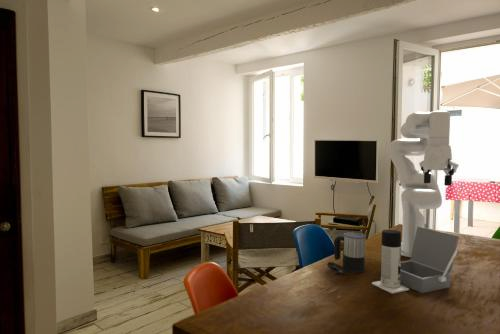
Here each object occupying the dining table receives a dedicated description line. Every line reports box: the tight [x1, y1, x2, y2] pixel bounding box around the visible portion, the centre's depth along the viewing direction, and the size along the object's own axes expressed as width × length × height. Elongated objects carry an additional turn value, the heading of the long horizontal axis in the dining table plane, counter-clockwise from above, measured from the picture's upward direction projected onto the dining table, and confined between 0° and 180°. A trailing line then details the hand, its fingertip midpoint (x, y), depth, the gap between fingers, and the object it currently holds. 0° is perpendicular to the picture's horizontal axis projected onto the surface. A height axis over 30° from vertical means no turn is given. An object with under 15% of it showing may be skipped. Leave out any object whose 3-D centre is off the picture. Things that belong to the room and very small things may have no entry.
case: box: [400, 227, 460, 294], centre depth 143 cm, size 19×18×19 cm
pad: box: [371, 280, 410, 294], centre depth 138 cm, size 10×8×1 cm
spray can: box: [380, 229, 402, 288], centre depth 137 cm, size 7×7×20 cm
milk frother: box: [327, 231, 367, 275], centre depth 155 cm, size 14×16×15 cm
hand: (437, 184), depth 152 cm, fingers open, 9 cm apart
